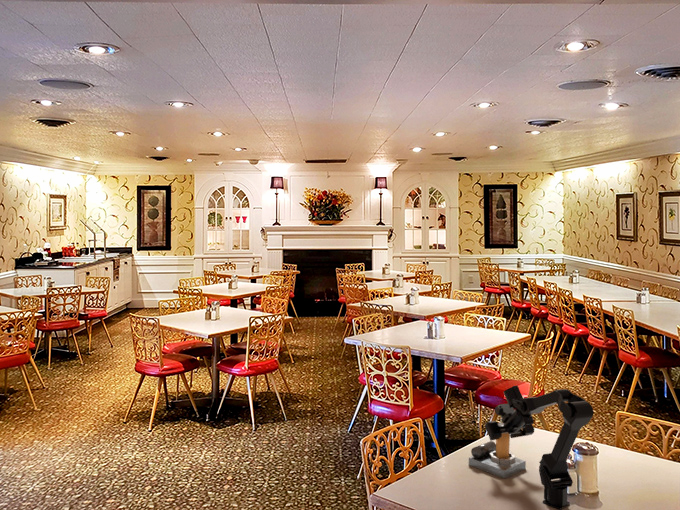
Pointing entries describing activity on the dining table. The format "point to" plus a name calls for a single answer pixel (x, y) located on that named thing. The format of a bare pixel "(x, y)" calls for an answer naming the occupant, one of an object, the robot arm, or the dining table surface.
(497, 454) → the lidded container
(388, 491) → the dining table surface
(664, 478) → the dining table surface
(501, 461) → the octagonal ring base plate
